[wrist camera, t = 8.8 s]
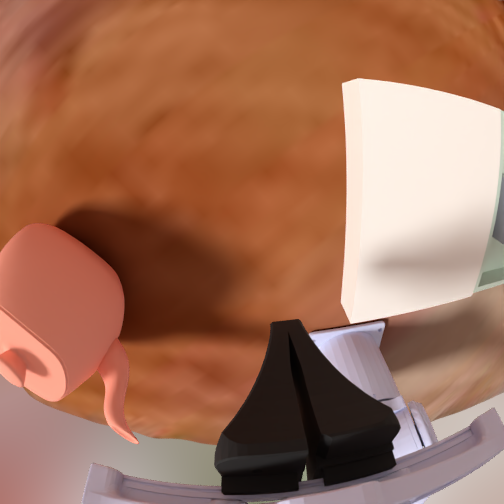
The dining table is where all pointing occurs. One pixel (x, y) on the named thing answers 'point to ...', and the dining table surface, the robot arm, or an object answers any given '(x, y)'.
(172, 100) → the dining table surface
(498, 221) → the tile
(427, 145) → the board
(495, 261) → the box
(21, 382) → the teapot
